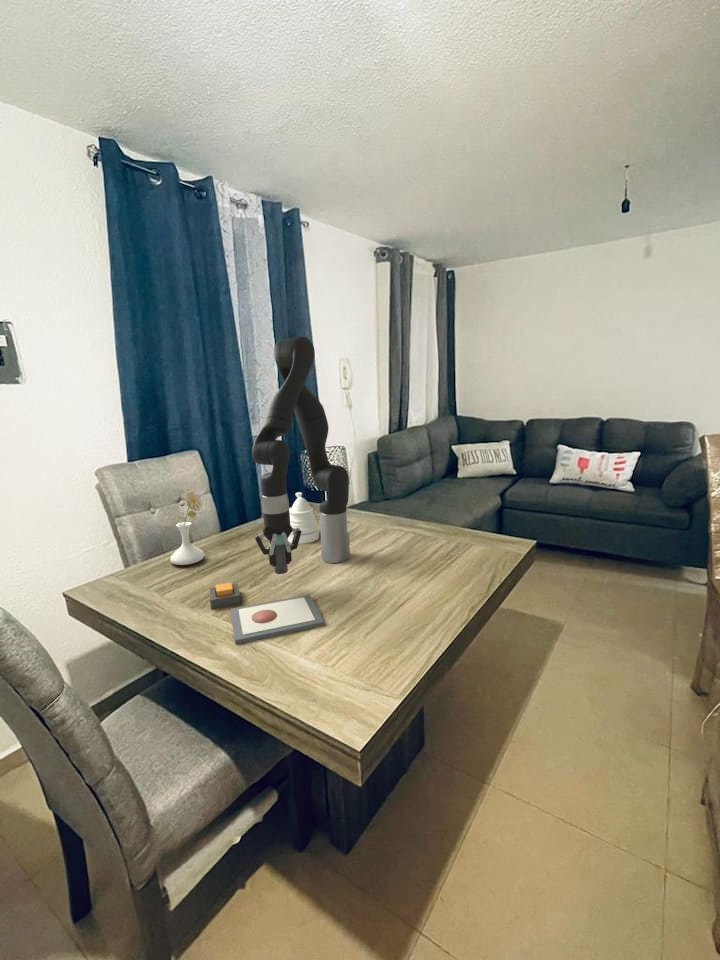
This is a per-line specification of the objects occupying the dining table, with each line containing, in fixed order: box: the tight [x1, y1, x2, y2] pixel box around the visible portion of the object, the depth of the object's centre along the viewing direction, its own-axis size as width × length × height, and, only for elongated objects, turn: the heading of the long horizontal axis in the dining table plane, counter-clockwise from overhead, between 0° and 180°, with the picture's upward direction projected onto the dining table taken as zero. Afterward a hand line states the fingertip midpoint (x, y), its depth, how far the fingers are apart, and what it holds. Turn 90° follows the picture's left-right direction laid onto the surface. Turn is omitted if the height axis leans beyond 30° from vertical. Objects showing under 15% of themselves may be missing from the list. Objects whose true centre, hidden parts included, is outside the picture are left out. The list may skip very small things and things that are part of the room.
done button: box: [215, 582, 233, 597], centre depth 127 cm, size 4×4×2 cm
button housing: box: [209, 582, 242, 610], centre depth 127 cm, size 8×8×3 cm
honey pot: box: [288, 491, 320, 545], centre depth 174 cm, size 13×13×18 cm
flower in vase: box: [169, 490, 206, 566], centre depth 153 cm, size 13×11×25 cm
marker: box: [273, 534, 289, 575], centre depth 130 cm, size 4×4×12 cm
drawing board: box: [230, 594, 325, 645], centre depth 116 cm, size 22×16×1 cm
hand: (280, 564), depth 131 cm, fingers closed on marker, 3 cm apart
